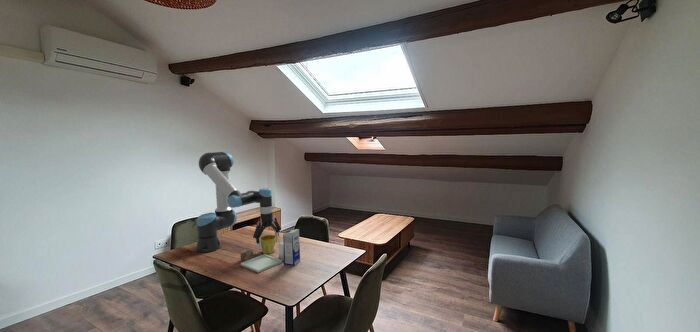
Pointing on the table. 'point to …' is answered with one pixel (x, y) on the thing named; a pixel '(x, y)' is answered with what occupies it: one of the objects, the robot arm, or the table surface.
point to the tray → (261, 263)
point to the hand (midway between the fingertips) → (268, 244)
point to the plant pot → (268, 243)
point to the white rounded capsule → (281, 251)
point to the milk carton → (291, 247)
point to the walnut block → (246, 255)
